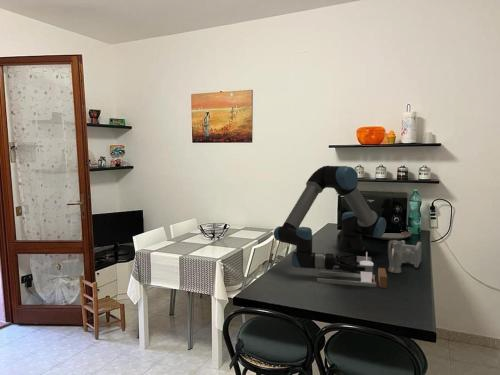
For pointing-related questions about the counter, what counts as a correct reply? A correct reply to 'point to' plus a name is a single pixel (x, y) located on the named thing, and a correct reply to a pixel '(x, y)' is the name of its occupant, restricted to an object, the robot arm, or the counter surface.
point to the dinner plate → (394, 236)
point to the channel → (381, 277)
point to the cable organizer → (411, 254)
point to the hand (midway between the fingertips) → (372, 264)
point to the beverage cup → (366, 275)
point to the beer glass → (395, 256)
